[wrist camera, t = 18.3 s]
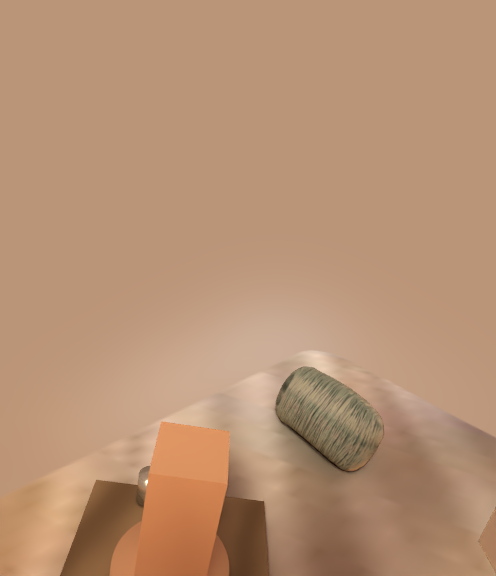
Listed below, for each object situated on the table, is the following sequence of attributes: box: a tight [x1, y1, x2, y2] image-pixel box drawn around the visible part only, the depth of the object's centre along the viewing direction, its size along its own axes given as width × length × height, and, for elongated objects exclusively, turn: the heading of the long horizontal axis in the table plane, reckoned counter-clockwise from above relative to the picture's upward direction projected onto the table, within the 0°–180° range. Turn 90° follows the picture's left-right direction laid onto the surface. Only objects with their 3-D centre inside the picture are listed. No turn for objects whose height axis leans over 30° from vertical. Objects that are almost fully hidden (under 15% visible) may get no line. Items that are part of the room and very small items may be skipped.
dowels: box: [136, 466, 228, 513], centre depth 42 cm, size 8×2×3 cm, turn 91°
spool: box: [276, 367, 384, 471], centre depth 55 cm, size 14×10×10 cm
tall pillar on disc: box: [109, 422, 229, 576], centre depth 34 cm, size 9×9×12 cm
